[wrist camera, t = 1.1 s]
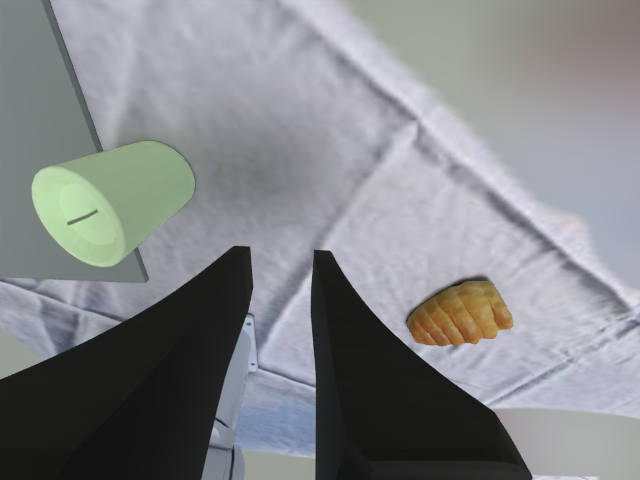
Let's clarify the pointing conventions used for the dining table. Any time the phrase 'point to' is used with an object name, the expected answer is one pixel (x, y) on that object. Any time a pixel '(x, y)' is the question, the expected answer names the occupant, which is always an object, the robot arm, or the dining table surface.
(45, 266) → the mat
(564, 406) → the dining table surface
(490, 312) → the pastry
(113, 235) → the candle
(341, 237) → the dining table surface
